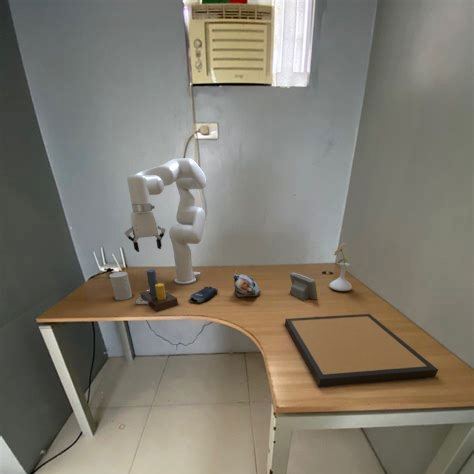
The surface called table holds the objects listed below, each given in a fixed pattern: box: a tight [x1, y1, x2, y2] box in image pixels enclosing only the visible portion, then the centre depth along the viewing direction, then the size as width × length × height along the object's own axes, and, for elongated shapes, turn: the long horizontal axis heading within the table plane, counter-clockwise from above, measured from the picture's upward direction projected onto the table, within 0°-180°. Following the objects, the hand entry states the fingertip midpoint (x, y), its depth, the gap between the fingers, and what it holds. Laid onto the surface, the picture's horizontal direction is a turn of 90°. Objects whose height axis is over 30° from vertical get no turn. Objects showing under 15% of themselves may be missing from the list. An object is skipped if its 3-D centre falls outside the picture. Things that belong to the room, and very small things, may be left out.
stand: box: [139, 289, 179, 312], centre depth 123 cm, size 11×18×4 cm, turn 40°
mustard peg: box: [155, 283, 166, 301], centre depth 119 cm, size 4×4×10 cm
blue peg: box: [145, 268, 158, 296], centre depth 123 cm, size 4×4×15 cm
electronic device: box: [189, 286, 219, 303], centre depth 127 cm, size 9×6×15 cm
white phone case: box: [136, 289, 150, 305], centre depth 128 cm, size 7×1×15 cm
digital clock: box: [289, 272, 318, 301], centre depth 127 cm, size 16×9×11 cm, turn 20°
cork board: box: [284, 313, 439, 388], centre depth 88 cm, size 36×3×35 cm
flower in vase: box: [329, 242, 353, 292], centre depth 130 cm, size 13×11×25 cm
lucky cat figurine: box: [233, 272, 262, 298], centre depth 127 cm, size 15×12×14 cm
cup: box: [109, 271, 133, 301], centre depth 127 cm, size 8×8×12 cm
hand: (148, 249), depth 114 cm, fingers open, 9 cm apart
